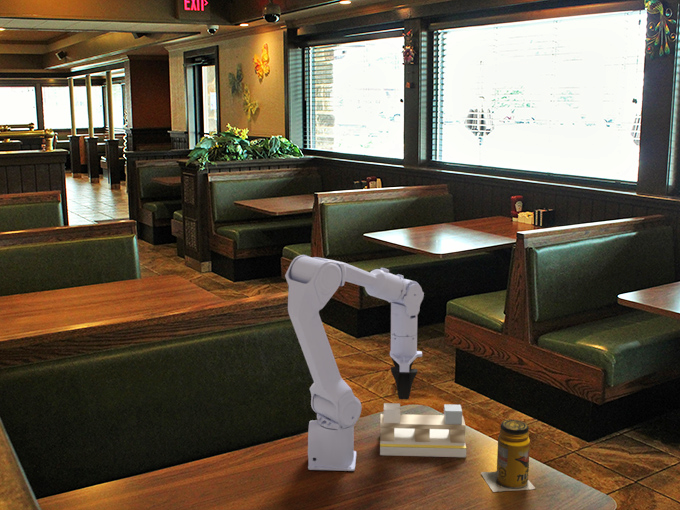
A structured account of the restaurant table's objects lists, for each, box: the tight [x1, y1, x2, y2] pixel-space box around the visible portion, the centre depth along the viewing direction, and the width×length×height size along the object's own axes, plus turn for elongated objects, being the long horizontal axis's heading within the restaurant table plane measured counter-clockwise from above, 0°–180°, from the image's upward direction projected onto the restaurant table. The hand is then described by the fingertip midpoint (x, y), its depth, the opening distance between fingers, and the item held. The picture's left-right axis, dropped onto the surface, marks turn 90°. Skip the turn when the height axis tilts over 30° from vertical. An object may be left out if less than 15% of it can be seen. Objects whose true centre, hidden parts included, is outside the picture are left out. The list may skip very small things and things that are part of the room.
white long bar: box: [379, 413, 467, 444], centre depth 151 cm, size 18×5×4 cm, turn 86°
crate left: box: [383, 402, 401, 423], centre depth 151 cm, size 4×4×3 cm
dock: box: [379, 428, 467, 458], centre depth 152 cm, size 18×10×2 cm, turn 86°
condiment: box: [480, 419, 536, 493], centre depth 136 cm, size 7×8×12 cm
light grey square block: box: [443, 403, 463, 425], centre depth 150 cm, size 4×4×3 cm
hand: (403, 391), depth 155 cm, fingers open, 7 cm apart
